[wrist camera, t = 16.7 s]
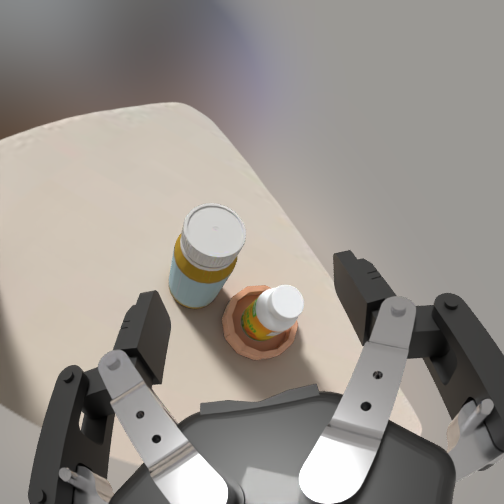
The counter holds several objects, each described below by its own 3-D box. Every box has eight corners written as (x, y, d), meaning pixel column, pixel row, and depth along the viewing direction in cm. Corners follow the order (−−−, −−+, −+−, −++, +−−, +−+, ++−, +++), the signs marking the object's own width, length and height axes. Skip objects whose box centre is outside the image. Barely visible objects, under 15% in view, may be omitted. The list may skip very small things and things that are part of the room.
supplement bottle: (235, 308, 39) (259, 282, 31) (269, 302, 41) (300, 275, 33) (245, 346, 37) (274, 329, 29) (280, 337, 39) (316, 318, 31)
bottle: (158, 287, 38) (163, 228, 25) (189, 254, 42) (209, 188, 29) (197, 320, 38) (223, 276, 25) (226, 284, 41) (263, 228, 29)
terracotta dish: (254, 373, 36) (260, 372, 34) (207, 317, 38) (211, 311, 36) (301, 330, 42) (309, 326, 40) (259, 279, 44) (265, 273, 41)
